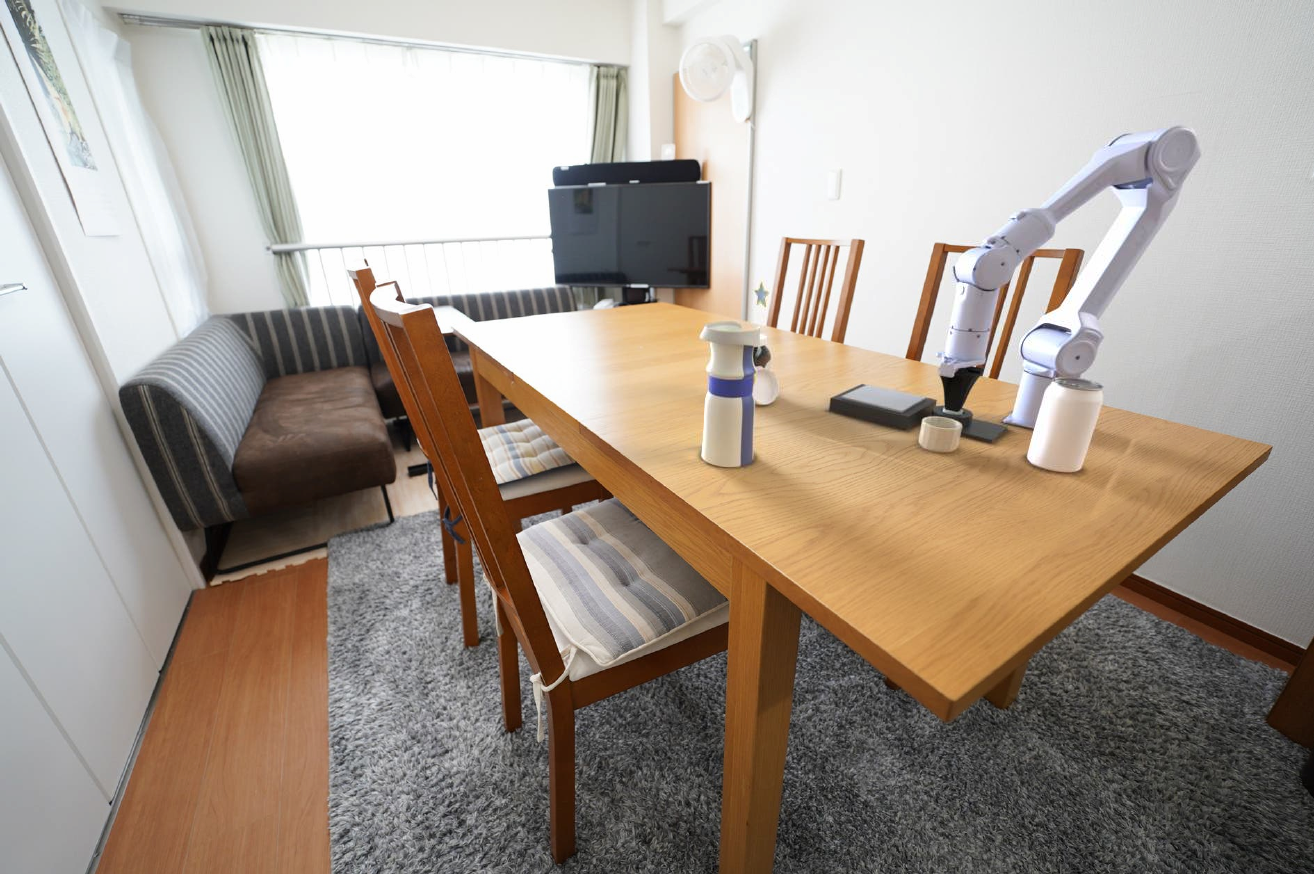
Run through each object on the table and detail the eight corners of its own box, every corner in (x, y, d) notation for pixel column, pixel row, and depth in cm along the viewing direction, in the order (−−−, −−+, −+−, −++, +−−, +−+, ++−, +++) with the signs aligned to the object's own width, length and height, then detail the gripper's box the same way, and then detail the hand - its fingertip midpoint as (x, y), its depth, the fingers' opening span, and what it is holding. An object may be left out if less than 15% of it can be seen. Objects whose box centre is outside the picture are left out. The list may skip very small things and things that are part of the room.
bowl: (962, 446, 83) (967, 422, 82) (949, 457, 80) (954, 432, 78) (925, 437, 87) (930, 413, 85) (911, 447, 83) (916, 422, 82)
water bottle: (721, 440, 87) (728, 277, 77) (766, 455, 81) (779, 282, 71) (687, 455, 81) (689, 283, 72) (732, 472, 76) (741, 288, 66)
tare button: (963, 419, 91) (965, 409, 91) (957, 424, 89) (959, 414, 89) (944, 415, 93) (946, 405, 93) (938, 419, 91) (940, 409, 91)
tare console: (1006, 430, 89) (1010, 416, 88) (991, 444, 84) (994, 429, 83) (940, 415, 96) (943, 401, 95) (922, 426, 91) (925, 412, 90)
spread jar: (740, 384, 114) (742, 329, 110) (791, 394, 108) (796, 336, 103) (711, 400, 105) (712, 340, 101) (764, 411, 99) (769, 348, 94)
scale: (934, 413, 97) (937, 397, 96) (906, 431, 89) (909, 414, 88) (860, 396, 106) (862, 381, 105) (828, 411, 98) (830, 395, 97)
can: (1064, 478, 73) (1090, 393, 69) (1016, 460, 78) (1037, 380, 74) (1090, 468, 76) (1117, 386, 71) (1042, 451, 81) (1064, 374, 77)
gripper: (959, 319, 93) (943, 394, 98) (925, 331, 83) (910, 414, 89) (1005, 324, 88) (987, 403, 93) (975, 338, 79) (956, 425, 84)
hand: (952, 409), depth 91 cm, fingers closed, pressing on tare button
